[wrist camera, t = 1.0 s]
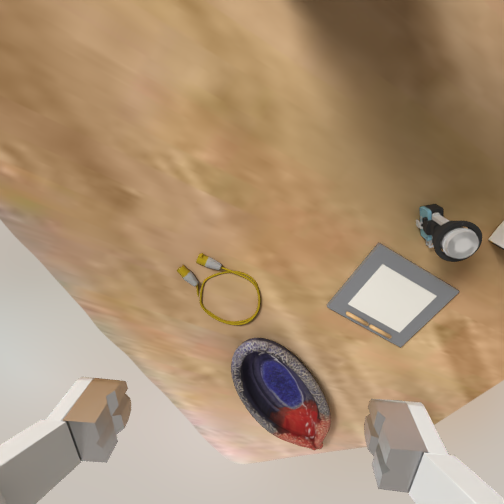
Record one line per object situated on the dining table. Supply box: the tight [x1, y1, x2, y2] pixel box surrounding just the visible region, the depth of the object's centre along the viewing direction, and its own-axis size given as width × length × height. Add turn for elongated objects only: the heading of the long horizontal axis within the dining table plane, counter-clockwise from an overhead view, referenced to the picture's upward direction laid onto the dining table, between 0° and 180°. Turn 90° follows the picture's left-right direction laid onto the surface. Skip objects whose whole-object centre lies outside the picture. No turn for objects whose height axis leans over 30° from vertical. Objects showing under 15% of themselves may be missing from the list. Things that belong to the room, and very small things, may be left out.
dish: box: [231, 338, 331, 450], centre depth 59 cm, size 16×31×5 cm, turn 27°
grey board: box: [327, 243, 459, 347], centre depth 50 cm, size 14×16×1 cm
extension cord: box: [177, 253, 260, 325], centre depth 53 cm, size 12×16×2 cm
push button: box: [416, 204, 482, 262], centre depth 41 cm, size 7×5×10 cm
